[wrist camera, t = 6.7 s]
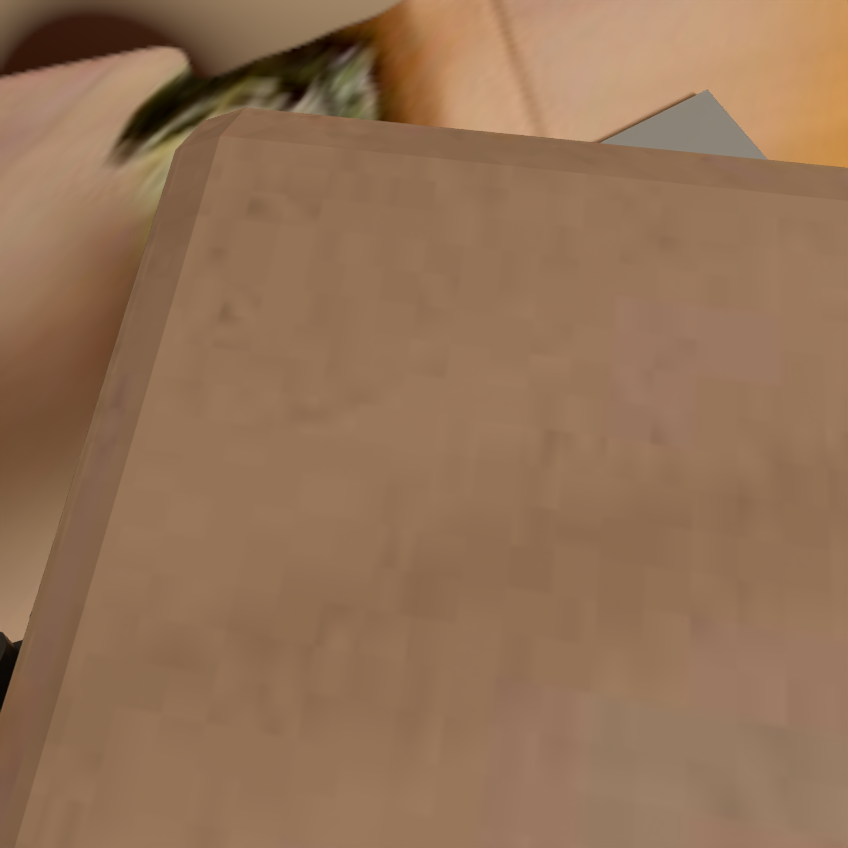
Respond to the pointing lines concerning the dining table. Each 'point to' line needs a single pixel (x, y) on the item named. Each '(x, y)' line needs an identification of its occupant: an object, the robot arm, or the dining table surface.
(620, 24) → the dining table surface
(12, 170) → the dining table surface
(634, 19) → the dining table surface
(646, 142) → the mat
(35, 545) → the dining table surface
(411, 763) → the wooden block
